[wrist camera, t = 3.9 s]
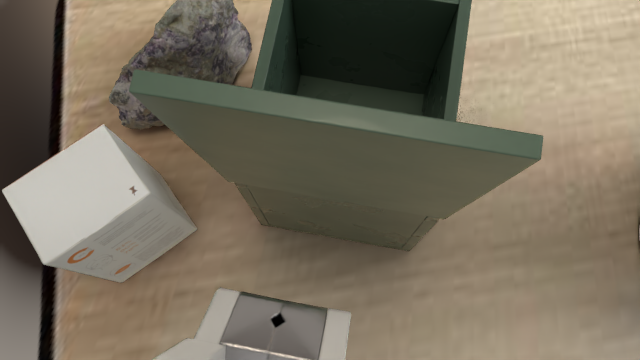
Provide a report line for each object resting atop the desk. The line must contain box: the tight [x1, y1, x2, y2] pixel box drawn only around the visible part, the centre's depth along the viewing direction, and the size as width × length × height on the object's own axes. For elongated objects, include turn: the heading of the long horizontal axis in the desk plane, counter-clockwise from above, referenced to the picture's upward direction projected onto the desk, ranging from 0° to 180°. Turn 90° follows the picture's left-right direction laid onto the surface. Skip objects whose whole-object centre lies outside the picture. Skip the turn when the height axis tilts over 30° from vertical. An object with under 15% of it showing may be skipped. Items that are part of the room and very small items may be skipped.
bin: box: [235, 0, 472, 251], centre depth 43 cm, size 15×13×15 cm
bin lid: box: [129, 69, 543, 219], centre depth 25 cm, size 16×13×1 cm
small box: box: [2, 124, 197, 283], centre depth 42 cm, size 8×6×13 cm
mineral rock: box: [109, 0, 252, 129], centre depth 48 cm, size 13×11×10 cm
